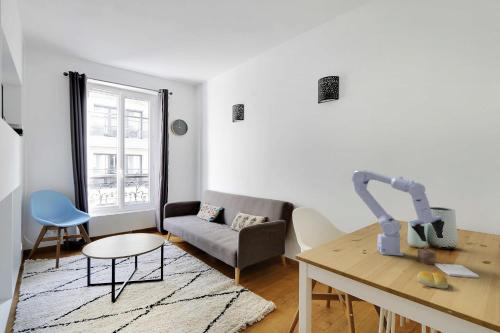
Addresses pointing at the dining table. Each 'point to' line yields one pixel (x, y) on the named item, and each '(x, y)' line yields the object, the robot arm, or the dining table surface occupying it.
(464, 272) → the grey tile
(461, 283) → the dining table surface
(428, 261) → the walnut block
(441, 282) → the bread roll
